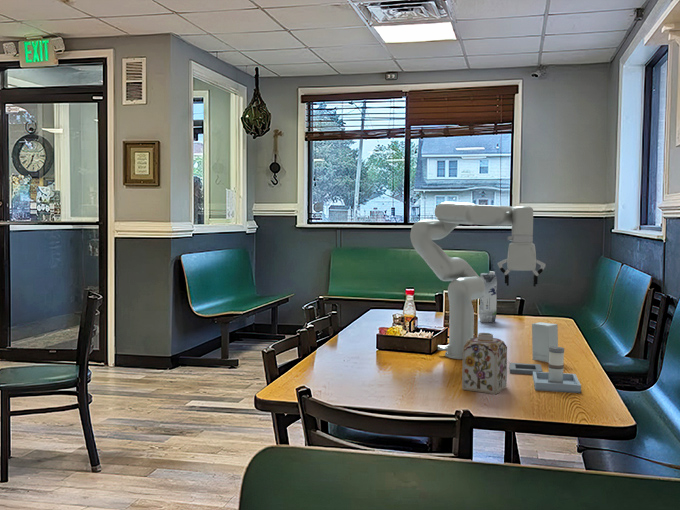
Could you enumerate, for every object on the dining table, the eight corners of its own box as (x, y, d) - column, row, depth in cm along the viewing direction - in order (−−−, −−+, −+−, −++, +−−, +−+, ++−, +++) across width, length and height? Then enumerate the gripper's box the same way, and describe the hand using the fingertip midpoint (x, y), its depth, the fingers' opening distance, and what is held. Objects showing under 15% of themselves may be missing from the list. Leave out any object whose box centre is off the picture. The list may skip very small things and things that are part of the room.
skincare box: (558, 362, 256) (559, 324, 255) (548, 364, 252) (549, 325, 251) (541, 358, 263) (542, 321, 262) (530, 360, 259) (531, 322, 258)
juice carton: (479, 322, 351) (480, 271, 349) (478, 319, 361) (479, 270, 359) (496, 323, 349) (497, 272, 348) (495, 320, 359) (496, 270, 358)
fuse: (548, 384, 219) (549, 348, 218) (547, 381, 223) (548, 346, 223) (563, 386, 217) (564, 349, 217) (562, 382, 222) (563, 347, 221)
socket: (509, 374, 235) (510, 369, 235) (509, 366, 248) (509, 361, 248) (542, 376, 232) (542, 371, 232) (539, 368, 245) (540, 362, 245)
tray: (535, 390, 214) (535, 382, 214) (532, 378, 230) (532, 371, 230) (580, 393, 211) (581, 385, 211) (575, 381, 226) (575, 373, 226)
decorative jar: (473, 382, 224) (474, 329, 223) (507, 387, 218) (508, 332, 217) (460, 390, 214) (461, 334, 213) (496, 395, 208) (497, 338, 207)
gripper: (498, 239, 244) (496, 286, 245) (547, 240, 240) (545, 287, 241) (498, 239, 251) (496, 284, 252) (545, 239, 247) (544, 285, 248)
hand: (520, 285), depth 246 cm, fingers open, 9 cm apart
